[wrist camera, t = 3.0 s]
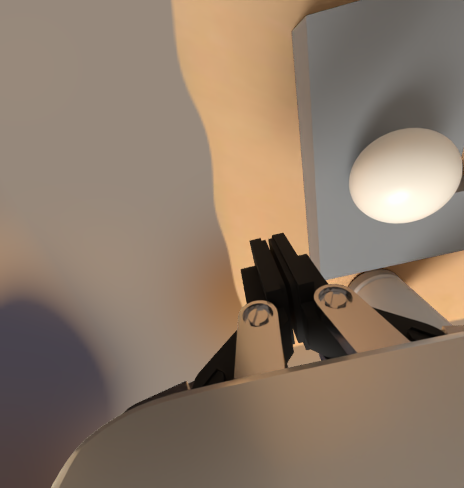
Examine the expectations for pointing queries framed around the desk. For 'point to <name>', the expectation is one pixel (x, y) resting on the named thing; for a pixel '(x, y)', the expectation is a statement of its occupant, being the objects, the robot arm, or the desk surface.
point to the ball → (405, 175)
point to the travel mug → (395, 297)
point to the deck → (375, 121)
